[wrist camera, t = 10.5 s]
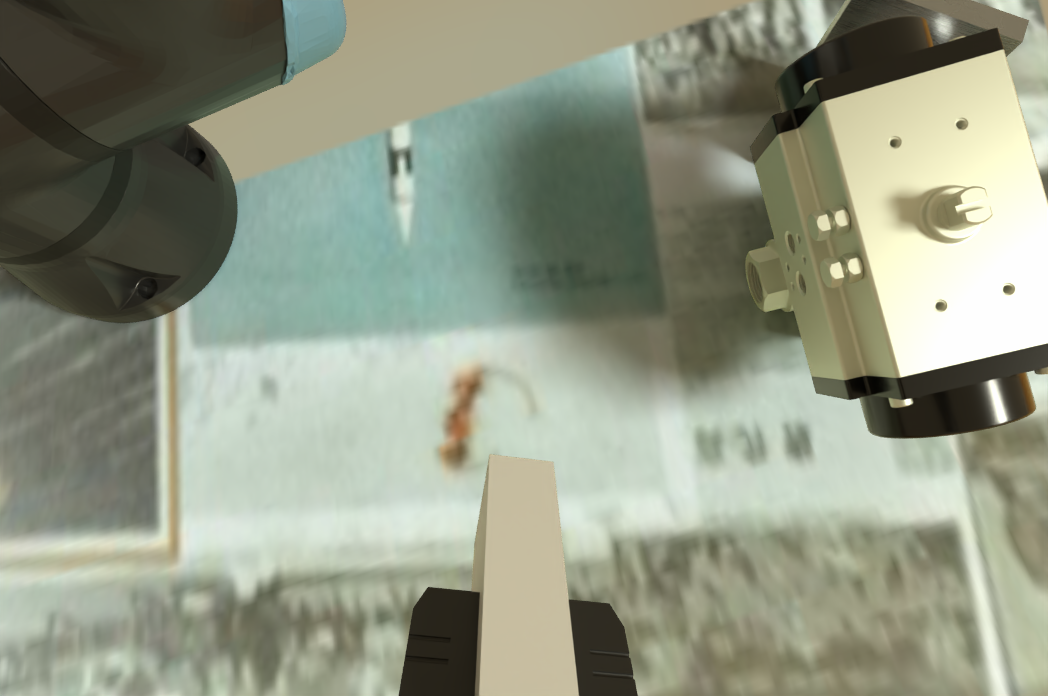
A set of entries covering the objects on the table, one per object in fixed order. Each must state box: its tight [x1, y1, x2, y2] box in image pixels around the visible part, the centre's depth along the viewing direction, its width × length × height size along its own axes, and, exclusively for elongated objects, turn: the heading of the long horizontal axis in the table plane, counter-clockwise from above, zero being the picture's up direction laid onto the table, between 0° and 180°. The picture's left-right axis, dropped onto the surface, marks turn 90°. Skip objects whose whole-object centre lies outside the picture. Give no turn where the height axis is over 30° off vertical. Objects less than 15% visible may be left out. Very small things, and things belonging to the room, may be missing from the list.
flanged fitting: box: [817, 0, 1029, 57], centre depth 38 cm, size 9×8×9 cm
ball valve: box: [745, 15, 1048, 439], centre depth 32 cm, size 18×8×18 cm, turn 14°
